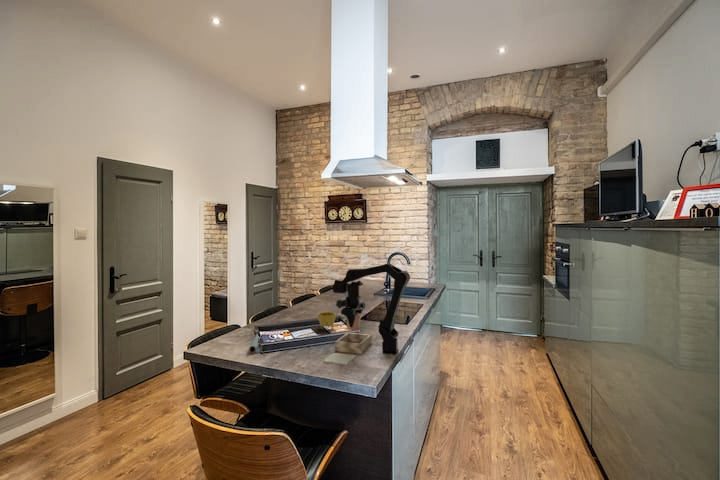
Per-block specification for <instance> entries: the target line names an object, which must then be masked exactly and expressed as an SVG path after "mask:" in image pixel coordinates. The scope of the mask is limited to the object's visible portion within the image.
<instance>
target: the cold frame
mask: <svg viewBox="0 0 720 480" xmlns="http://www.w3.org/2000/svg"><path fill="white" fill-rule="evenodd" d="M372 337H373V336H372V334H369V333H368V334H365V333H356V332H345V334H343V335H342V336H340V337H339V338H338V339H337V340H335V341H334V351H335V352H341V353H342V352H343V353H348V354H351V353H352V354H359V355H362V354H363V353H364V352H365V351H366V350H367V349H368V347H370V346H371V344H372V341H373V340H372Z"/></svg>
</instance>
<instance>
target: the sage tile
mask: <svg viewBox="0 0 720 480" xmlns="http://www.w3.org/2000/svg"><path fill="white" fill-rule="evenodd" d="M355 358H356V354H349V353H337V352H333V353H331V355H329V356H328V357H326V358H325V359H324V360H323V363H326V364H335V365H343V366H347V365H349V364H350V363H351V362H352V361H353V360H354V359H355Z"/></svg>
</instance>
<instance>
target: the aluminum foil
mask: <svg viewBox="0 0 720 480" xmlns="http://www.w3.org/2000/svg"><path fill="white" fill-rule="evenodd" d="M258 338H259V336H258V334H257V333H256V334H255V336H254V338H253V340H252V342H251V344H250V346H249V349H248V351H249V353H251V354H254V353H255V354H257V353H260V351H259V347H260V346H259V344H260V343H258ZM258 346H259V347H258Z"/></svg>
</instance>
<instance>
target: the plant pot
mask: <svg viewBox="0 0 720 480" xmlns="http://www.w3.org/2000/svg"><path fill="white" fill-rule="evenodd" d="M336 316H337V315H336V313H335V312H332V311H322V312H318V314H317V320H318V321H319V326H322V327H324V326H331V325H333V324H335V320H336ZM333 326H334V325H333Z"/></svg>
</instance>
